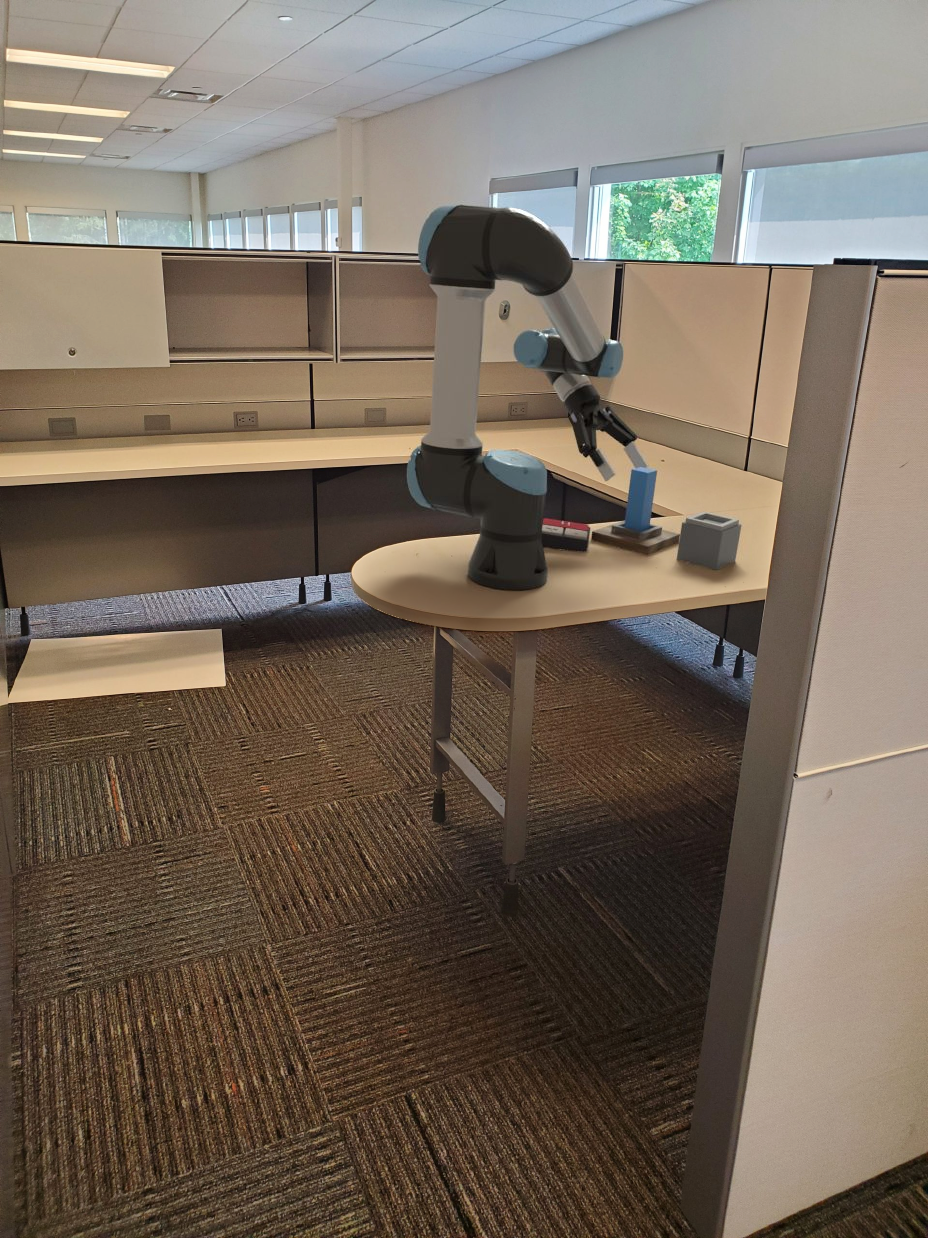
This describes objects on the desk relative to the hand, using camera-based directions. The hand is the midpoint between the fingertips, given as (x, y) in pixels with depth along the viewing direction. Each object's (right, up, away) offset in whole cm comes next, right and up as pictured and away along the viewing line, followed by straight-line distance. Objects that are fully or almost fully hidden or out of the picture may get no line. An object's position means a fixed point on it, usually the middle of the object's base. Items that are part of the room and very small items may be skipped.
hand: (627, 473), depth 203 cm
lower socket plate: (+2, -14, +3) cm, 15 cm away
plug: (+2, -13, +3) cm, 13 cm away
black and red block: (-16, -15, 0) cm, 22 cm away
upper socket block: (+15, -19, -6) cm, 25 cm away
